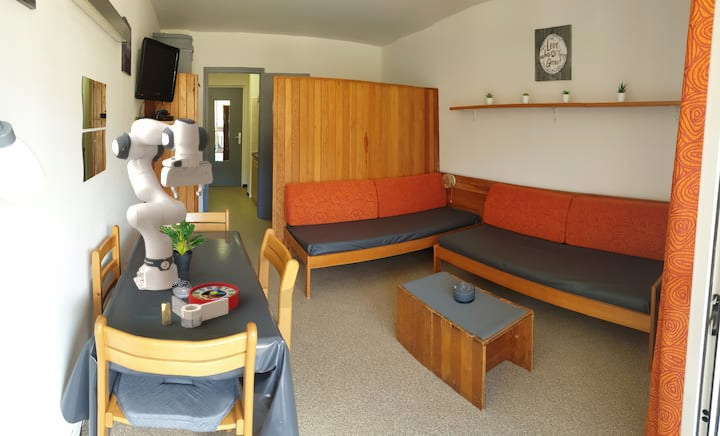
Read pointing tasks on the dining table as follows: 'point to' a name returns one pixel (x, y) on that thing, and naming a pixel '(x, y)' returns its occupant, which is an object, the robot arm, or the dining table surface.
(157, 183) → the robot arm
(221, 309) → the hinge leaf
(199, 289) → the toy clock
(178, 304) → the hinge leaf
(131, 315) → the dining table surface
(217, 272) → the dining table surface
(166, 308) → the hinge pin
